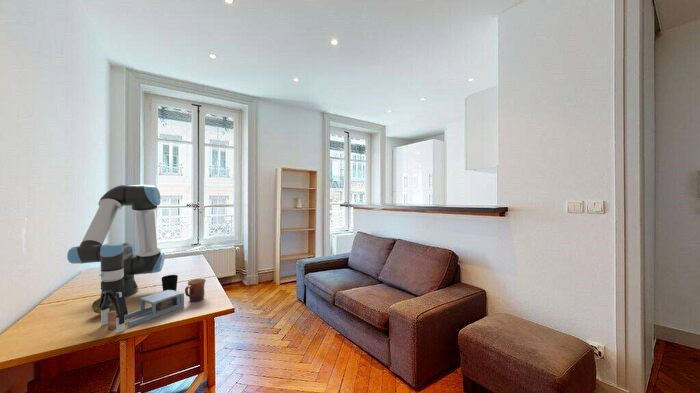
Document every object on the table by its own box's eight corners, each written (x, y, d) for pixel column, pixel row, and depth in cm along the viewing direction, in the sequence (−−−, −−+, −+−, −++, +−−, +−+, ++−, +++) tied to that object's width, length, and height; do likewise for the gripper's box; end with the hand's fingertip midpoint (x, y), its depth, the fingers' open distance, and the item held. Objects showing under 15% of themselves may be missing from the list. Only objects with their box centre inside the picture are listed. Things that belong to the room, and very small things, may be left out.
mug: (196, 295, 153) (196, 278, 153) (209, 297, 152) (209, 279, 151) (178, 304, 142) (178, 285, 141) (193, 305, 140) (192, 286, 140)
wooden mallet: (105, 328, 116) (105, 312, 116) (166, 306, 139) (166, 293, 139) (111, 331, 114) (110, 314, 114) (172, 308, 136) (172, 294, 136)
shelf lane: (117, 321, 123) (117, 305, 123) (171, 302, 144) (171, 288, 144) (130, 326, 118) (130, 309, 118) (184, 306, 139) (183, 292, 139)
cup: (180, 296, 152) (180, 275, 152) (166, 301, 145) (166, 279, 145) (172, 294, 155) (172, 274, 155) (158, 299, 148) (158, 277, 148)
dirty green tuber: (105, 321, 123) (104, 303, 123) (88, 316, 128) (88, 299, 128) (125, 313, 131) (125, 297, 131) (109, 309, 135) (109, 293, 135)
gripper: (88, 277, 119) (88, 324, 119) (116, 286, 107) (116, 338, 108) (109, 272, 125) (109, 317, 126) (137, 280, 114) (138, 330, 114)
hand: (112, 327), depth 117 cm, fingers open, 13 cm apart
